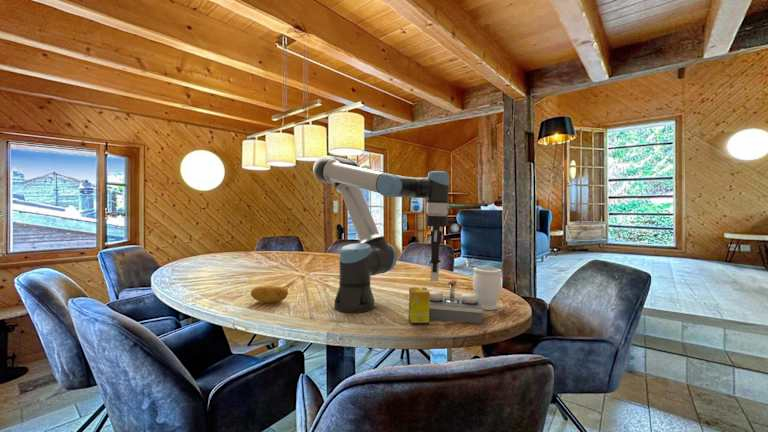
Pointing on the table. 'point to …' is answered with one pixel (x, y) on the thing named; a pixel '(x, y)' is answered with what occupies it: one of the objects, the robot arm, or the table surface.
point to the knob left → (436, 296)
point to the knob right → (469, 298)
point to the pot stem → (452, 291)
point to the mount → (456, 311)
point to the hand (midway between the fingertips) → (434, 280)
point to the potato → (269, 294)
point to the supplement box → (419, 305)
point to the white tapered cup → (487, 286)
